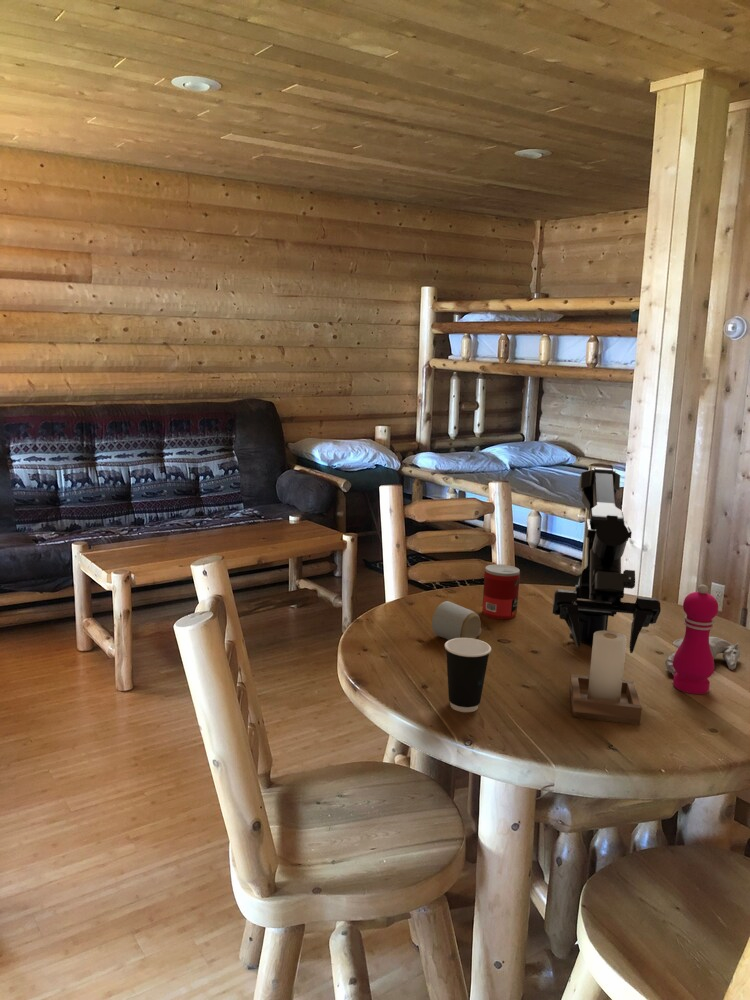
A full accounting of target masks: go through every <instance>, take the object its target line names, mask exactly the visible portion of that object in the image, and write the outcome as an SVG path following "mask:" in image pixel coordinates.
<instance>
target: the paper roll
mask: <svg viewBox="0 0 750 1000" xmlns="http://www.w3.org/2000/svg"><path fill="white" fill-rule="evenodd" d="M627 639H628V638H627V636H626V635H625V634H623V633H620V632H617V631H615V630H614V631H613V630H607V631H605V630H603V631H596V632H595V633H594V636H593V645H591V646H592V648H591V655H590V656H591V657H590V668H589V687H588V697H587V699H592V700H601V701H610V702H619V703H620V698H621V689H622V680H624V679H623V677H624V671H625V670H624V668H625V660H626V659H625V658H626V651H627V650H626V649H627V641H628V640H627Z"/></svg>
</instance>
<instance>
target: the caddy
mask: <svg viewBox="0 0 750 1000" xmlns="http://www.w3.org/2000/svg"><path fill="white" fill-rule="evenodd" d="M589 677H590V675H578V674H570V679H569V698H570V707H571V714H572V718H579V719H587V720H596V721H604V722H605V721H606V722H614V723H623V724H629V725H630V724H631V725H638V726H639V725H641V719H642V718H641V717H642V708H643V707H642V704H641V701H640V698H639V695H638V692H637V689H636V685H635V682H634V680H633V681H632V680H625V679H622V689H621V698H620V703H619V702H610V701H601V700H592V699H587V697H588V687H589Z"/></svg>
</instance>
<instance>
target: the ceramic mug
mask: <svg viewBox="0 0 750 1000" xmlns="http://www.w3.org/2000/svg"><path fill="white" fill-rule="evenodd" d="M480 618H481V617H480V616H479V615H478V613H477V612H475V611H473V610H471V609H469V608H466V607H463V606H461V605H459V604H456V603H454V602H451V601H449V600H446V601H443V602H441V603H440V604H438V606H437V607H436V609H435V611H434V613H433V616H432V619H431V628H432V633H433V634H434V635H435V636H438V637H441V638H444V639H446V640H447V641H449V640H451V639H455V638H473V639H477V638H478V637H479V636H481V632H482V628H481V625H482V624H481V619H480Z"/></svg>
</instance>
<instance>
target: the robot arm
mask: <svg viewBox="0 0 750 1000" xmlns="http://www.w3.org/2000/svg"><path fill="white" fill-rule="evenodd" d="M578 485H579V486H578V491H579V492H581V502H582V504H583V505H584V507H585V508H586V510H587V513H588V514H587V518H586V519H585V520H586V521H585V526H584V527H585V529H584V535H585V536H584V537H585V538H587V539H586V540H587V542H586V565H585V566H586V567H585V568H583V569H582V572H581V573H580V575H579V578H578V583H577V584H575V586H574V590H571V589H570V590H569V589H559V588H558V589H557V590H555V591H554V595H553V602H552V614H553V615H556V616H558V617H559V619H561V620H564V621H565V623H566V624H567V627H568V628H569V630H570V633H569V637H571V638H573V641H574V643H575V644H576V647H577V649H580V647H581V643H584V644H586V645H589V646H593V636H594V633H595V632H596V631H603V630H605V631H608V624H609V623H608V622H609V617H615V616H616V615H617V613H621V614H632V618H633V619H632V622H631V626H630V627H631V628H630V640H629V653H630V654H633V653H634V650H635V647H636V644H637V641H638V638H639V635H640V634H641V633H640V632H641V631H642V629H643V628H648V627H649V626H650V624H651V625H652V624H653V625H654V624H656V623H657V620H658V618H659V616H660V614H661V602H660V600H659V599H658V598H657V597H647V596H637V597H636V600H635V603H634V602H626V601H625V602H623V601H622V599H624V596H625V589H631V590H632V589H634V588H635V587H636V570H633V569H624V570H623V572H622V557H623V555H624V553H625V549H626V545H627V543H628V541H629V539H631V538H632V530H631V528H630V527H629V525H628V522H627V521H625V519H624V514H623V511H622V509H620V508H618V507H617V505H616V494H617V495H618V494H619V492H620V489H621V488H620V486H621V474H620V473H617V472H616V470H615V469H613V468H609V467H608V468H605V467H594V468H591V469H590V470H586V471H582V472H581V473H580V476H579V483H578Z"/></svg>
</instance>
